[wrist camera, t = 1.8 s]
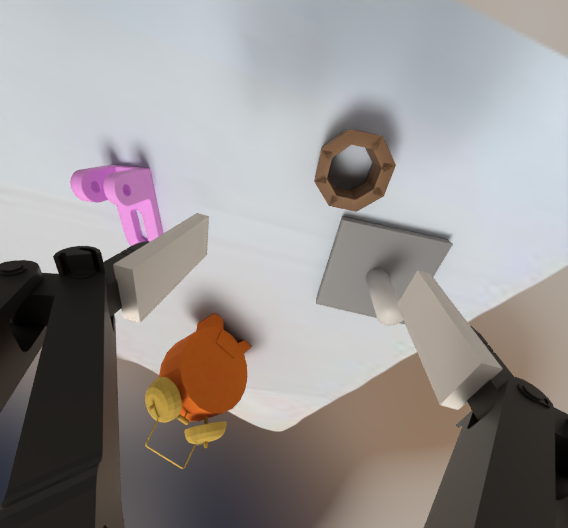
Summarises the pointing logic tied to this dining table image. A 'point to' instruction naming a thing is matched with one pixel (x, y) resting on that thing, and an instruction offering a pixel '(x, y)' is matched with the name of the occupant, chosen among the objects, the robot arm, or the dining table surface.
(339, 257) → the post
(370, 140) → the collar
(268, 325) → the dining table surface
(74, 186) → the bracket
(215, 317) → the alarm clock
